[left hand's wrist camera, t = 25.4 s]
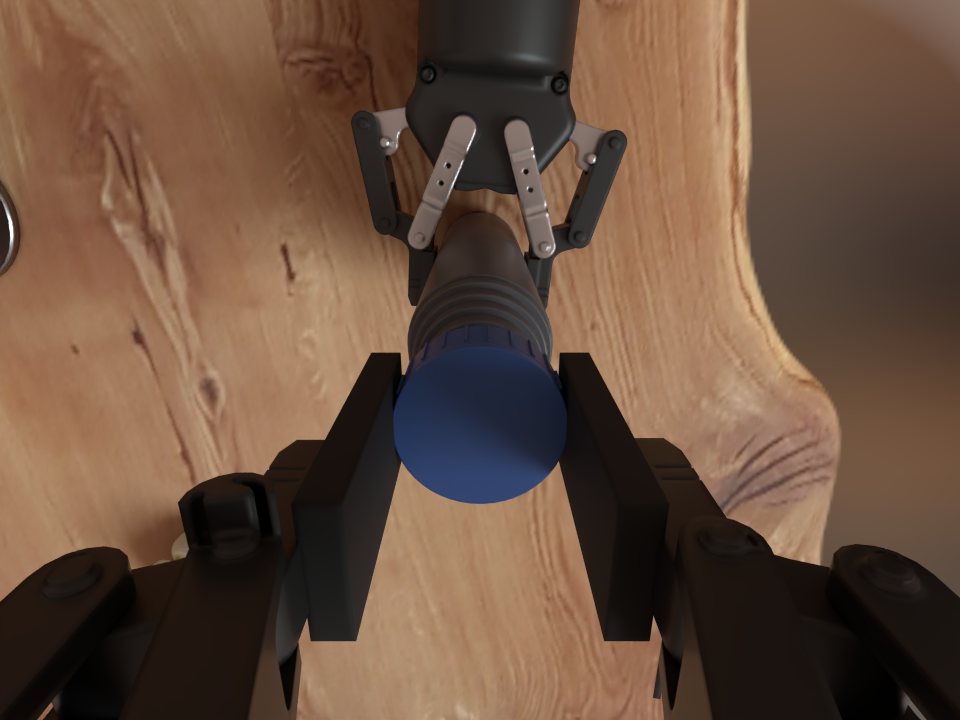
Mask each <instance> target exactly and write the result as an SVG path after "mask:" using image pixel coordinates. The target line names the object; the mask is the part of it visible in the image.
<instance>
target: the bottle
mask: <svg viewBox="0 0 960 720" xmlns="http://www.w3.org/2000/svg"><path fill="white" fill-rule="evenodd" d="M465 325H468V327H472V326H487V325H491V327H496V328H501V329H504V330H508V331H509V329H511V330H513V333H515V334H517V335H520V336H521V337H523V338H525V339H526V340H529V339H530V340H532V343H533V345H534V346H536V347H537V348H538V349H539V350H540V351H541V352H542V353H543V354H545V353H546V355H547V357H548V360H549V363H550V362H551V355H552V331H551V326H550V322H549V319H548V316H547V314H546V311H545V309H544V307H543V304H542V302H541V299H540V297H539V294H538V292H537V289H536V287H535V284H534V282H533V279H532V277H531V274H530V272H529V270H528V267H527V265H526V262H525V260H524V257H523V255H522V252H521V250H520V247H519V245H518V242H517V240H516V237H515V235H514V233H513V231H512V229H511V228H510V227H509V225H508V224H507V223H506V222H505V221H504V220H502V219H501V218H499V217H497V216H495V215H493V214H490V213H485V212H475V213H470V214H467V215H465V216H463V217H461V218H459V219H458V220H456V221H455V222H454V223H453V224H452V225H451V227H450V228H449V229H448V231H447V233H446V235H445V237H444V240H443V242H442V245H441V247H440V250H439V252H438V255H437V257H436V260H435V262H434V265H433V267H432V270H431V272H430V275H429V277H428V280H427V282H426V284H425V287H424V289H423V292H422V294H421V297H420V299H419V302H418V304H417V307H416V309H415V312H414V314H413V317H412V320H411V323H410V326H409V332H408V353H409V361H410V359H411V358H412V357H415V356H416V355H417V354H418V353H419V351H420V350H421V349H422V348H424V345H425V343H426V342H428V343H430V342H431V341H432V340H434V339H435V338H437V337H439V336H441V335H443V332H445V331H447V332H450V331H453V330H456V329H460V328H464V327H465Z"/></svg>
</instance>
